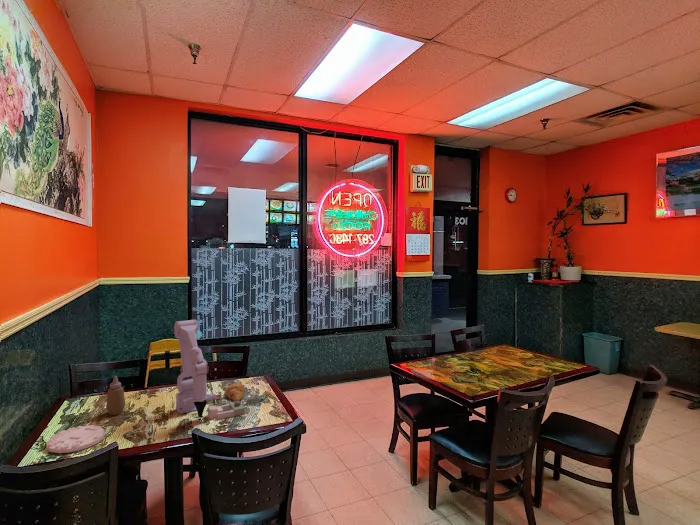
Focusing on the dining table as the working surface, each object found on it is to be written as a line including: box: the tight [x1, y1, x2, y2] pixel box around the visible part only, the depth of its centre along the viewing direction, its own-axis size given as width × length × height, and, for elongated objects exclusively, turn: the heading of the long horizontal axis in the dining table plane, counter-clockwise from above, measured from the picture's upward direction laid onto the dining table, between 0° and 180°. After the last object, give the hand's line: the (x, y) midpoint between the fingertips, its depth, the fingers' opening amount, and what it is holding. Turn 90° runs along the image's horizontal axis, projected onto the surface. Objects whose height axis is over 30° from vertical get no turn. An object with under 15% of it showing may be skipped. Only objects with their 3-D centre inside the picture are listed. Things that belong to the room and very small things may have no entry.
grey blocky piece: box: [216, 400, 246, 420], centre depth 196 cm, size 13×10×5 cm
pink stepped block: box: [207, 405, 224, 420], centre depth 193 cm, size 6×5×4 cm
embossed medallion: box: [46, 424, 106, 454], centre depth 166 cm, size 20×20×3 cm
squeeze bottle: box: [105, 375, 126, 416], centre depth 194 cm, size 8×8×18 cm
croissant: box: [224, 382, 246, 402], centre depth 218 cm, size 21×10×8 cm, turn 23°
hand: (200, 416), depth 189 cm, fingers closed
